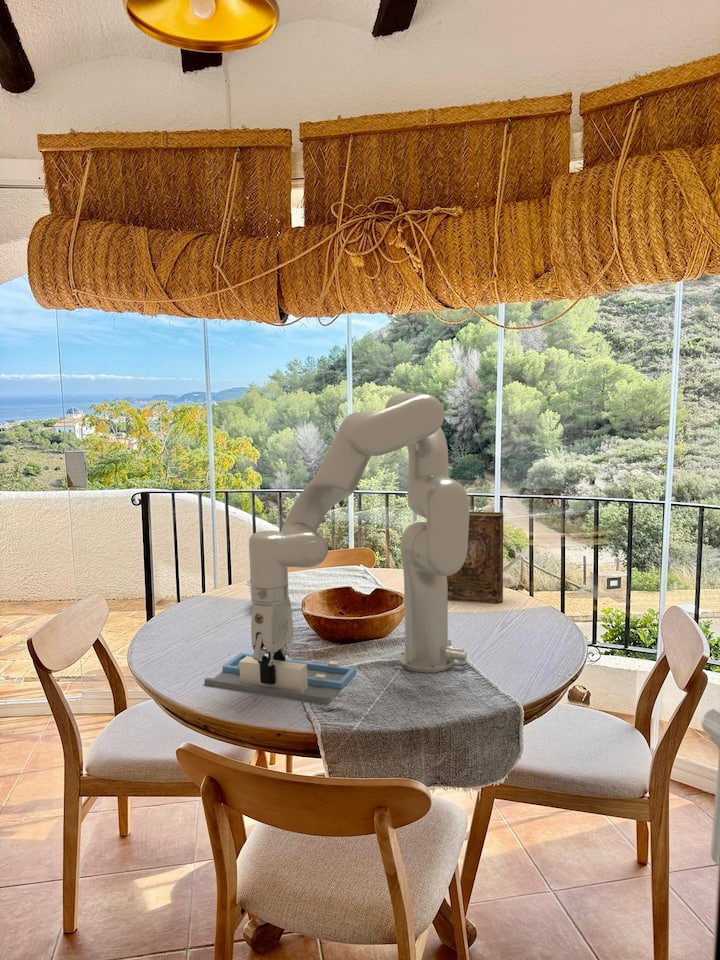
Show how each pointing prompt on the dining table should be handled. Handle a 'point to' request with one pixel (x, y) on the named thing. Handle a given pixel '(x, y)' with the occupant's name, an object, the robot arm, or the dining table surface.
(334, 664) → the board
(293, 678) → the bar
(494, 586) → the book
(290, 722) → the dining table surface
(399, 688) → the dining table surface
